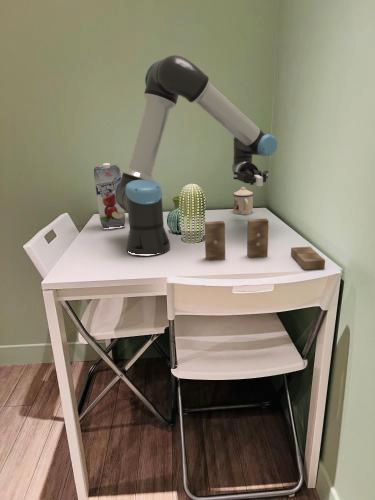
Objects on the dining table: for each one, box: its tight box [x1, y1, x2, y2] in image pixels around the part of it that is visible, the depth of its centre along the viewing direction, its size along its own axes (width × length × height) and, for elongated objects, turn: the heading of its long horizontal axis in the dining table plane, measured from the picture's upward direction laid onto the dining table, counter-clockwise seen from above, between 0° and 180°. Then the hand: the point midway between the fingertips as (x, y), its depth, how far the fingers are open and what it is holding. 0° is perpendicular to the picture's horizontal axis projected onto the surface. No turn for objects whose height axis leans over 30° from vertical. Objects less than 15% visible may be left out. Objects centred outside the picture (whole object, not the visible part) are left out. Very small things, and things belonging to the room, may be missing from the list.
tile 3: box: [290, 246, 326, 271], centre depth 112 cm, size 6×3×12 cm
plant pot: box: [171, 195, 180, 210], centre depth 170 cm, size 9×9×9 cm
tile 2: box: [246, 218, 269, 259], centre depth 116 cm, size 6×3×12 cm, turn 93°
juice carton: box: [93, 162, 126, 229], centre depth 154 cm, size 9×10×27 cm
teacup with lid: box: [232, 186, 254, 215], centre depth 169 cm, size 12×9×12 cm
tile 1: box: [204, 220, 226, 261], centre depth 116 cm, size 6×3×12 cm, turn 93°
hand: (260, 182), depth 119 cm, fingers closed
